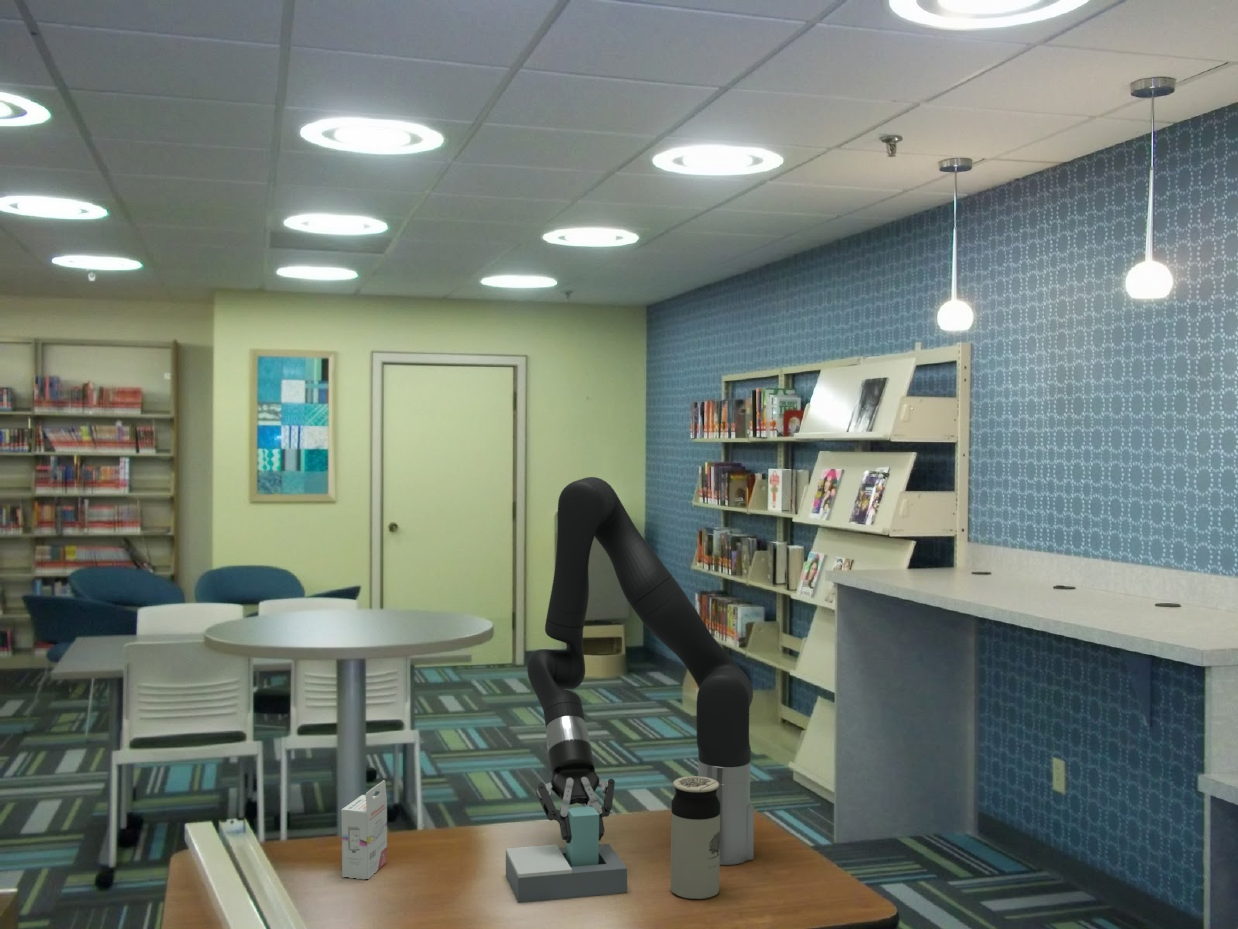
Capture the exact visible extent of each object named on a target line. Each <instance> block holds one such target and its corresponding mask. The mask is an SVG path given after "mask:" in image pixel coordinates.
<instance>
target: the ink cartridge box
mask: <svg viewBox="0 0 1238 929" xmlns="http://www.w3.org/2000/svg"><path fill="white" fill-rule="evenodd" d="M376 792H377V793H378V794H377V795H375V794H376ZM340 811H341V863H342V864H341V865H342V866H341V869H342V871H341V875H342V876H341V877H349V878H348V879H353V878H356V879H355V880H365V879H368V880H369V879H370V878H372V877H373V876H374V873H375V874H376V873H377V872H378V871H379V870H380V869H382V867H384V866H385V865H386V863H387V862H388V797H387V786H386V780H385V779H383V780H382V781H381V782H379V783H378V784H376V785H375V786H373V787H372V788H370V789H369V790H368V791H366V793H365V794H361V795H360V796H358V797H357V798H356V799H355V800H353V801H352V802H350V803H349V804H347V805H346V806H344V807H343V808H341V810H340Z"/></svg>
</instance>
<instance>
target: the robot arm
mask: <svg viewBox="0 0 1238 929" xmlns="http://www.w3.org/2000/svg"><path fill="white" fill-rule="evenodd" d="M556 533H557V534H556V535H557V538H556V552H555V553H556V555H555V565H554V573H553V580H552V585H551V592H550V597H549V601H548V607H547V613H546V618H545V619H546V620H545V626H544V631H545V635H547V637H549V638H551V639H552V640H554V641H558V642H562V643H565V646H566V648H565V650H559V649H548V648H547V649H545V648H543V649H542V648H541V649H537V650H535V651H534V652H532V654H531V655H530V656H529V658H528V661H527V669H526V670H527V676H528V680H529V683H530V686H531V688H532V690H533V691H534V693H535V695H536V697H537V699H538V702H539V704H540V706H541V708H542V712H543V718H544V723H545V729H546V730H545V731H546V732H545V733H546V751H547V755H548V761H549V766H550V774H551V780H550V782H547V783H543V782H539V783H538V784H537V789H536V790H535V794H536V797H537V799H538V801H539V803H540V806H541V807H542V810H543V811H544V814H545V816H546V818H547V820H548V821H550V822H551V821H556V822H558V824H559V830H560V836H561V839H562V841H565V844H566V843H570V842H571V839H572V835H571V829H570V822H569V817H567V814H568V808H570V805H571V806H572V805H575V804H580V805H584V807H589V806H592V807H594V809H595V810H596V811H597V812H598V814H599V842H600V841H601V840H602V838H603V837H604V835H605V831H606V830H605V826H604V825H605V824H604V819H603V818H607V817H609V816H610V814H611V810H612V809H613V803H614V802H613V800H614V792H615V786H616V785H615V784H616V781H615V779H614V778H609V779H608V780H604V779H602V778H601V779H600V777H599V776H598V775H597V773H596V768H595V764H594V758H593V757H594V756H593V753H592V746H591V740H590V735H589V731H588V728H587V724H586V719H585V714H584V708H583V703H582V700H581V698H580V696H579V694H577V693H576V692H573V691H570V690H575V689H577V688H579V686H580V685H581V684H582V683H583V681H584V679H585V676H586V664H585V656H584V655H585V654H584V627H585V622H586V616H587V611H588V605H589V604H588V603H589V598H590V597H589V594H590V580H589V579H590V578H589V563H590V554H591V549H592V545H593V542H594V538H595V539H596V540H597V541H598V543H599V544H600V545H601V547H602V548H603V549H604V551H605V552H606V554H607V556H608V558H609V560H610V562H611V564H612V567H613V570H614V572H615V575H616V578H617V581H618V584H619V587H620V588H621V591H622V593H623V595H624V597H625V599H626V600H627V602H628V604H629V606H631V608H632V609H633V611H634V612H635V614H636V615H637V616H638V618H639V619H640V622H642V623H643V625H644V627H646V628H647V629H648V630H649V631H650V632H651V633H652V635H653V636H655V638H656V639H658V640H659V641H660V642H661V643H662V644H663V645H664V646H665V647H667V648H668V649H669V650H670V651H672V652H673V653H674V654H675V655H676V656H677V657H678V658H679V660H680V661H681V662H682V663H683V665H684V666H685V667H686V669H687V670H688V672H689V673H690V674H691V677H692V678H693V680H694V681H695V683H696V685H697V687H698V690H697V694H696V695H697V696H696V744H697V749H698V750H697V751H698V760H697V762H698V764H697V765H698V768H697V769H698V770H697V776H698V777H707V778H711V779H714V780H716V781H717V782H718V783H719V787H718V788H717V793H716V795H717V797H718V799H719V801H720V863H719V866H721V865H722V866H725V865H726V866H729V865H739V864H741V863H744V862H747V861H751V860H752V861H753V860H754V843H755V841H754V840H755V836H754V834H755V831H754V829H755V828H754V826H755V824H754V822H755V820H754V819H755V807H754V805H753V804H752V803H751V757H752V756H751V752H752V751H751V749H752V748H751V744H750V707H751V704H752V702H753V699H754V690H753V685H752V682H751V681H750V679H749V677H748V676H747V674H746V673H745V672H744V670H743V669H741V667H740V666H739V665H738V664H737V663H736V662H735V661H734V660H733V659H732V657H730V655H729V654H728V653H727V652H726V651H725V649H724V648H723V647H722V646H721V645H720V644H719V643H718V641H717V640H716V638H714V636H713V635H712V633H711V631H710V630H709V629H708V627H707V625H706V624H705V622H704V620H703V619H702V617H701V616H700V614H699V612H698V611H697V609H696V608H695V607H694V605H693V604H692V602H691V601H690V599H689V598H688V596H687V594H686V593H685V591H684V590H683V589H682V587H681V586H680V585H679V582H678V581H677V580H676V578H675V577H674V576H673V574H672V573H670V571H669V570H668V568H667V567H666V566H665V564H664V563H663V562H662V560H661V559H660V558H659V556H658V555H657V554H656V552H655V551H654V549H652V547H651V546H650V545H649V543H648V541H646V539H645V538H644V537H643V536H642V534H641V533H640V531H639V530H638V528H637V527H636V525H635V523H633V521H632V519H631V517H630V515H629V513H628V512H627V510H626V508H625V506H624V505H623V503H622V501H621V499H620V498H619V495H618V494H617V493H616V490H614V488H613V487H612V485H611V484H609V483H608V482H607V481H605V480H604V479H602V478H599V477H595V476H589V477H584V478H581V479H577V480H574V481H572V482H571V483H568V484H567V485H566V486H565V487H564V488H563V489H562V490H561V492H560V494H559V497H558V500H557V532H556ZM597 788H600V792H601V794H603V795H604V798H603V804H602V806H601V805H600V804H599V801H598V796H597V795H596V790H597ZM552 791H553V793H555V795H556V796H558V797H559V799H560V800H561V801H560V806H559V809H557V808H556V806H555V803H554V801H553V800H552V796H551V795H552Z"/></svg>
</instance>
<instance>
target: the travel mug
mask: <svg viewBox="0 0 1238 929" xmlns="http://www.w3.org/2000/svg"><path fill="white" fill-rule="evenodd" d="M672 785H673V786H674V790H675V794H674V796H673V798H672V800H671V810H670V811H671V812H670V813H671V815H670V816H671V818H670V819H671V821H670V822H671V827H670V828H671V829H670V891H671V892H672V893H673V894H675V895H676V896H678V897H680V898H684V899H687V900H705V899H708V898H712V897H714V896H716V895H718V894H719V892H720V865H719V863H720V801H719V799H718V797H717V795H716V793H717V788H718V787H719V783H718V782H717V781H716V780H714V779H711V778H707V777H698V775H697V776H695V775H694V776H683V777H679V778H676V779H675V780H674V781H673V784H672Z"/></svg>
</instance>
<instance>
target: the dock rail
mask: <svg viewBox="0 0 1238 929" xmlns="http://www.w3.org/2000/svg"><path fill="white" fill-rule="evenodd" d="M505 877H506V879H507V882H508V883H510V884H509V886H510V888H511V890H512V892H513V894H514V897H515V898H516V901H517V903H518V904H519V903H521V904H522V903H530V902H541V901H551V900H561V899H562V900H563V899H571V898H572V899H573V898H583V897H594V896H595V897H596V896H605V895H615V894H617V895H618V894H626V893H628V867H627V866H626V865H625V863H624V862H623V861H622V859H621V858H620V857H619V855H618V854H617V852H616V851H615V850H614V848H613V847H612V846H611V845H610V843H603V844H602V843H601V844H600V843H599V858H598V865H588V866H576V867H570V865H569V864H568V862H567V861H566V846H563V847H559V846H558V844H545V845H536V846H535V845H533V846H523V847H521V846H520V847H519V846H518V847H511V848H510V847H508V848H505Z"/></svg>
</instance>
